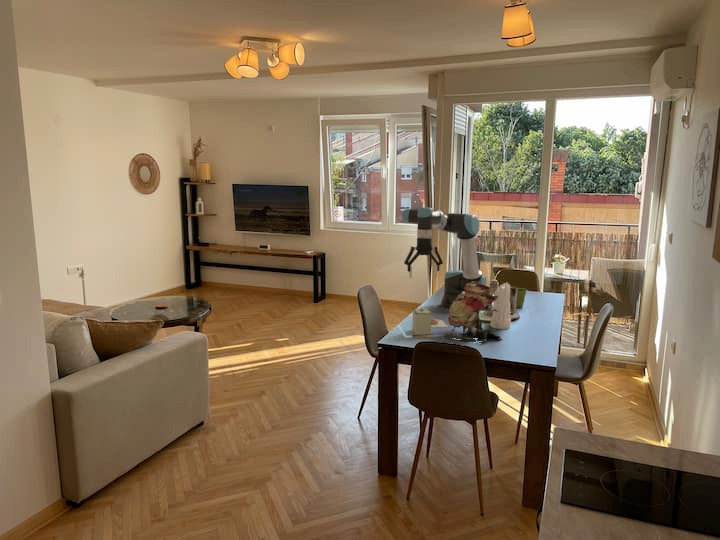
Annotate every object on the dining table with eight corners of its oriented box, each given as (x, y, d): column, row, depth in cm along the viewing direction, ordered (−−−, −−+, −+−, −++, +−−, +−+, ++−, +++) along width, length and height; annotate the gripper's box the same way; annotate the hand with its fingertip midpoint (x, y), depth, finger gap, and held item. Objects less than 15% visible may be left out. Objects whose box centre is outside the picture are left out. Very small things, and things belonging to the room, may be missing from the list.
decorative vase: (496, 329, 291) (499, 285, 286) (487, 324, 301) (489, 281, 296) (514, 328, 293) (516, 284, 289) (504, 323, 304) (506, 280, 299)
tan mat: (408, 329, 289) (408, 328, 289) (427, 329, 291) (427, 328, 291) (414, 338, 274) (414, 337, 274) (435, 337, 275) (435, 336, 275)
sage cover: (412, 330, 286) (413, 307, 283) (426, 330, 287) (427, 306, 284) (415, 335, 278) (416, 310, 275) (430, 334, 279) (431, 310, 276)
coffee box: (499, 312, 328) (500, 286, 325) (501, 309, 333) (503, 285, 330) (514, 314, 324) (515, 288, 321) (516, 311, 329) (518, 286, 326)
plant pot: (524, 304, 347) (525, 288, 345) (527, 309, 335) (529, 292, 333) (505, 304, 348) (506, 287, 346) (508, 308, 336) (510, 291, 334)
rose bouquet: (461, 326, 296) (464, 274, 291) (506, 338, 275) (510, 282, 269) (431, 335, 279) (433, 280, 274) (477, 349, 258) (480, 289, 253)
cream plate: (419, 322, 304) (420, 316, 303) (441, 321, 305) (442, 316, 305) (425, 328, 291) (425, 322, 290) (448, 328, 293) (448, 322, 292)
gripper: (402, 238, 268) (401, 279, 271) (449, 238, 271) (448, 278, 275) (399, 236, 275) (398, 276, 279) (445, 236, 278) (444, 275, 282)
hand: (423, 277), depth 277 cm, fingers open, 13 cm apart
